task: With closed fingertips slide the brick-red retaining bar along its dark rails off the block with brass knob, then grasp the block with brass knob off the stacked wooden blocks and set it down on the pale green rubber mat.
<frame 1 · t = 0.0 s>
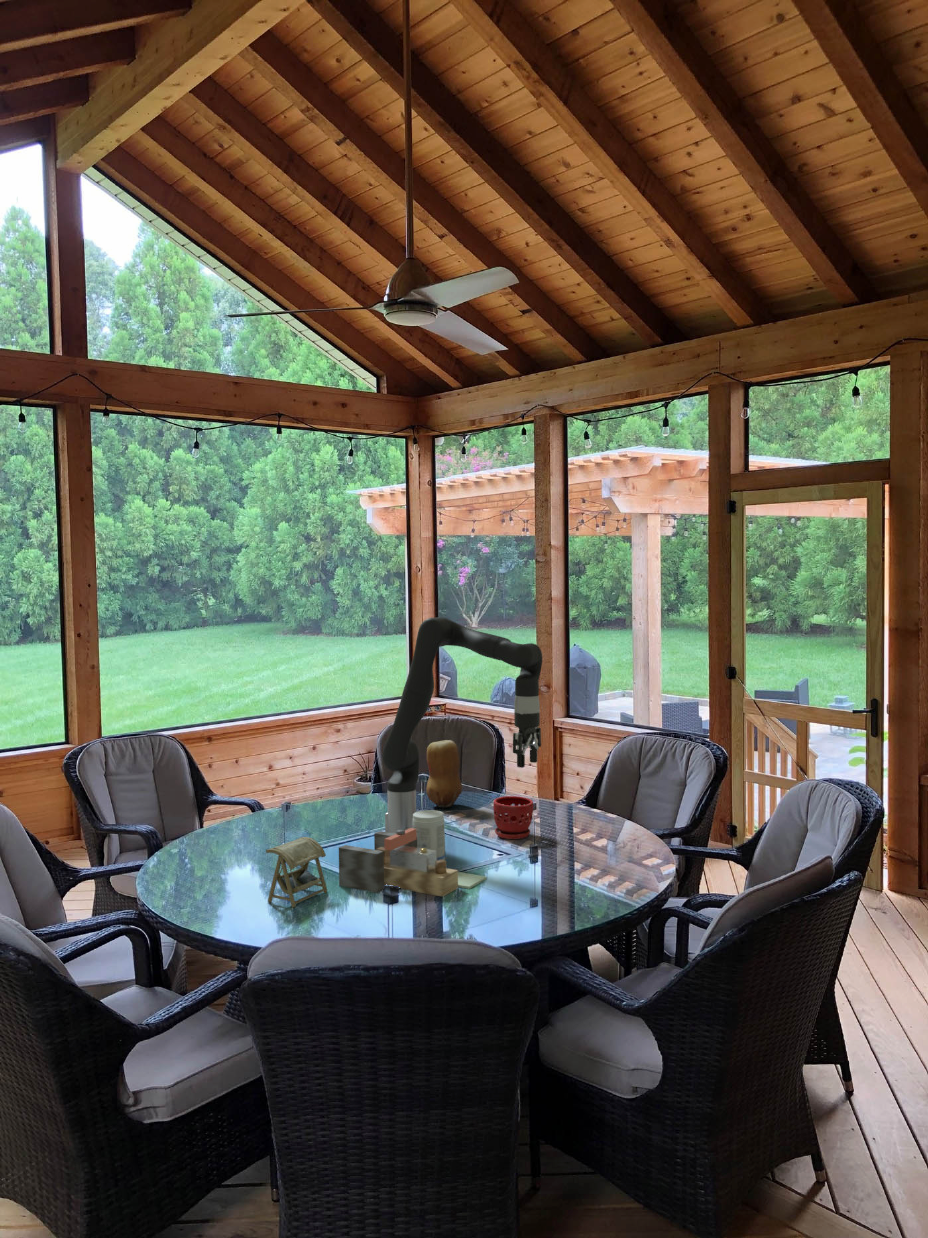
hand: (527, 764, 286), 29 cm above the table, fingers open, 8 cm apart
butternut squash: (444, 807, 357), on the table
supplement tub: (429, 862, 288), on the table
plant pot: (513, 836, 316), on the table
latch bar: (400, 837, 267), point 13 cm above the table, slide at 0.0 cm
block with brass knob: (413, 867, 265), point 5 cm above the table, touching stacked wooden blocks
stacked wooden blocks: (413, 885, 266), on the table
mat: (462, 881, 269), on the table
swing bench: (297, 898, 257), on the table
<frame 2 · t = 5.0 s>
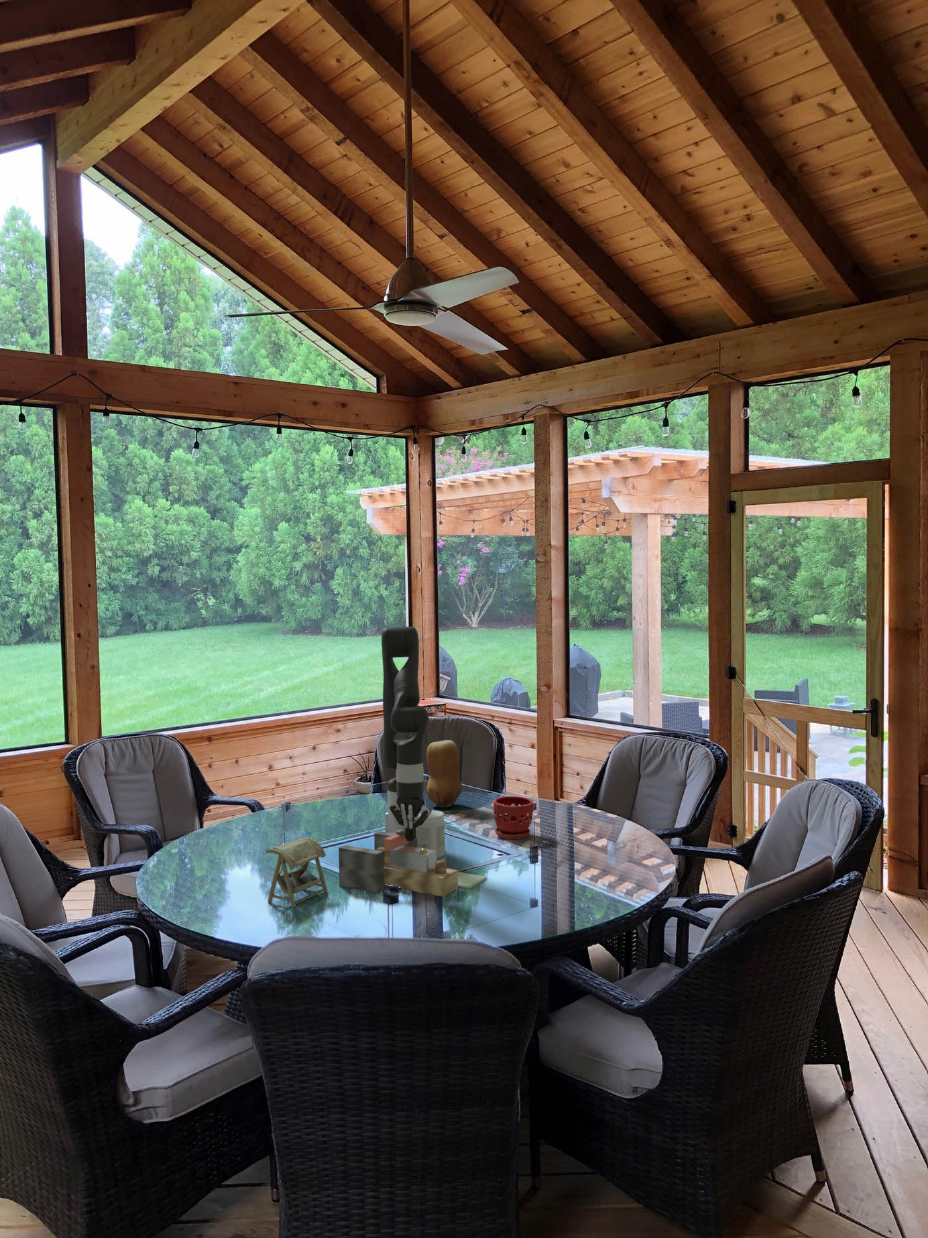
hand: (410, 840, 266), 12 cm above the table, fingers closed
latch bar: (400, 837, 267), point 13 cm above the table, slide at 0.1 cm, touching gripper
everything else where it was.
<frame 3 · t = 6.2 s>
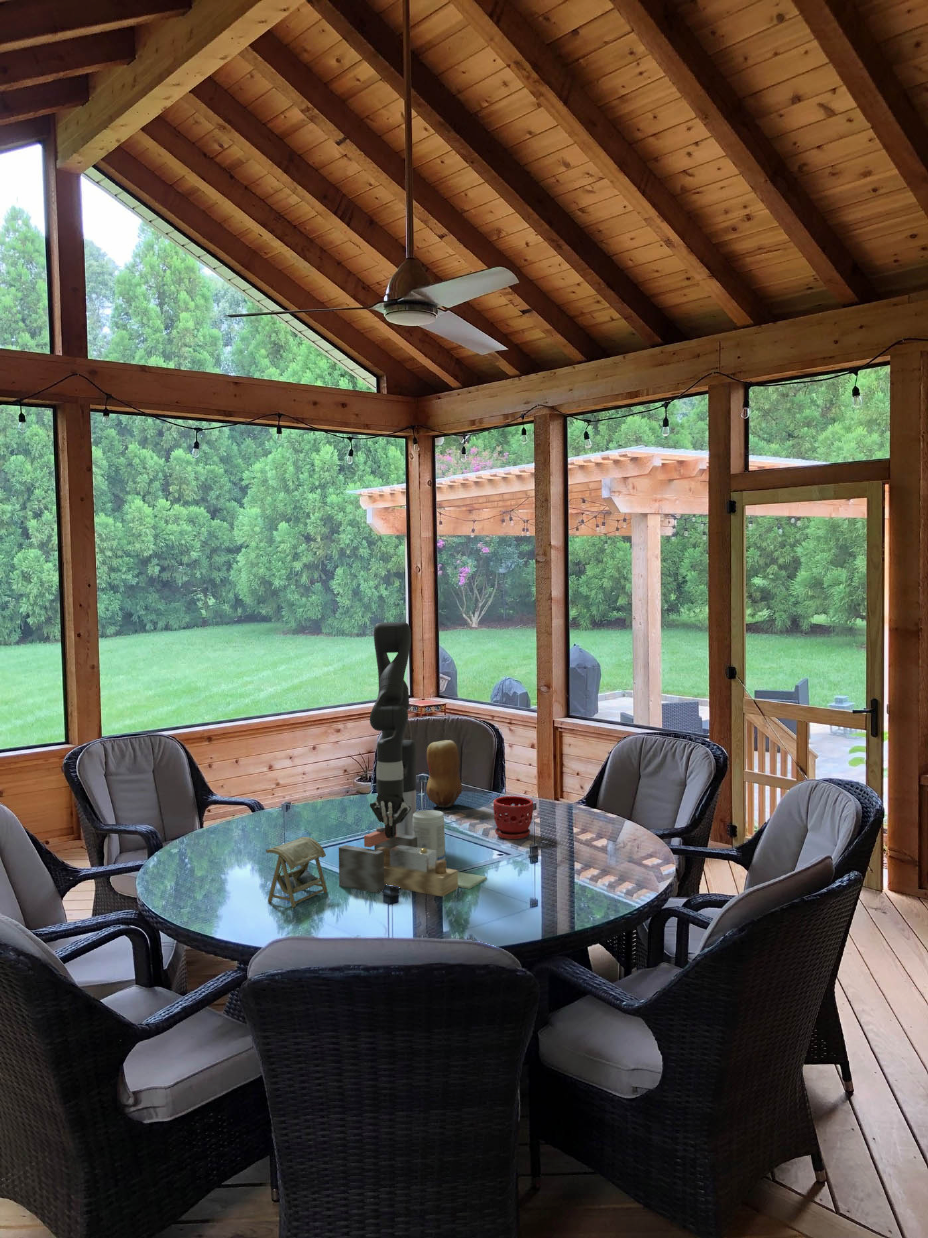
hand: (390, 837, 269), 12 cm above the table, fingers closed
latch bar: (380, 834, 270), point 13 cm above the table, slide at 6.8 cm, touching gripper
everything else where it was.
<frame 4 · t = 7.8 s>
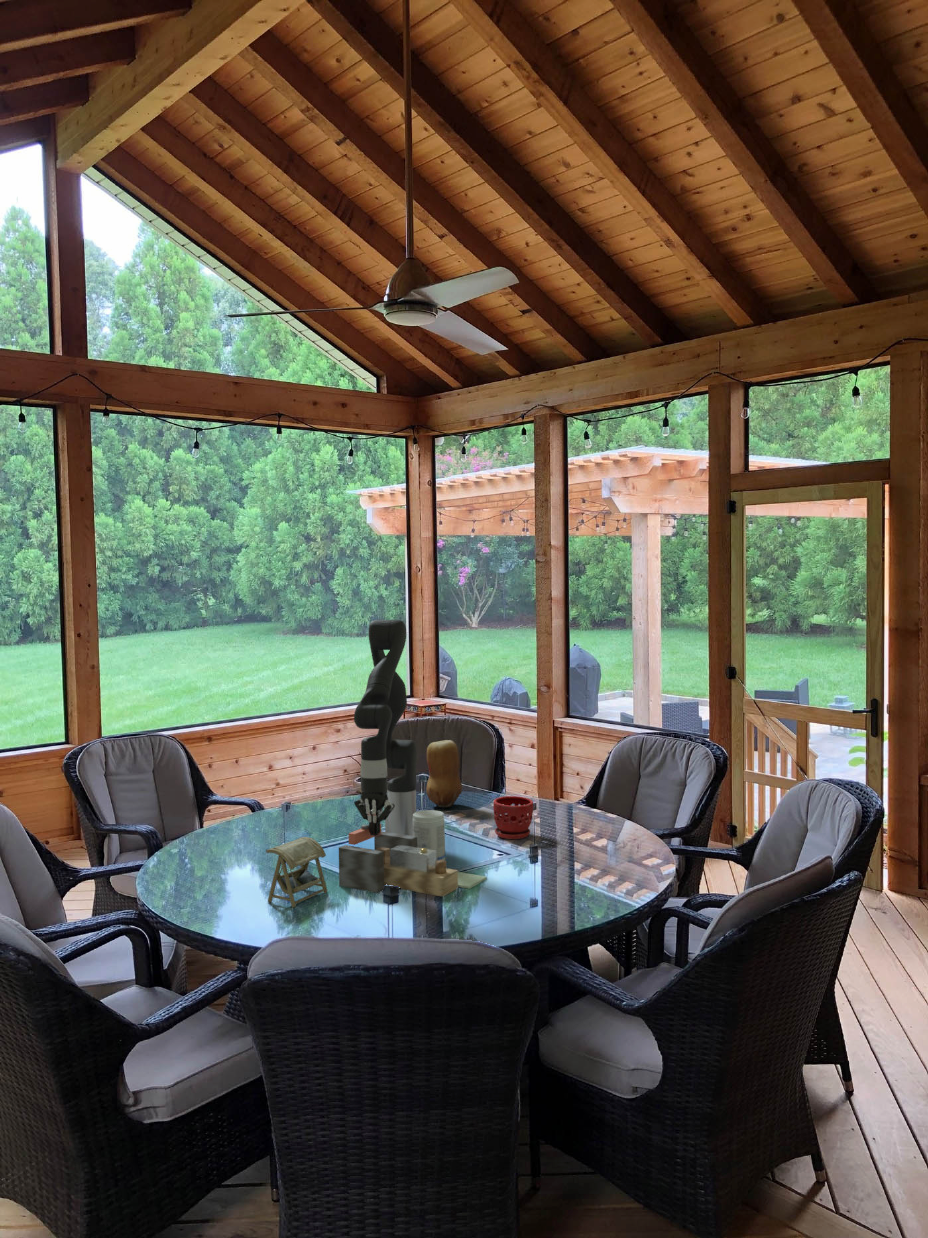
hand: (374, 835, 272), 12 cm above the table, fingers closed
latch bar: (365, 832, 273), point 13 cm above the table, slide at 12.1 cm, touching gripper
everything else where it was.
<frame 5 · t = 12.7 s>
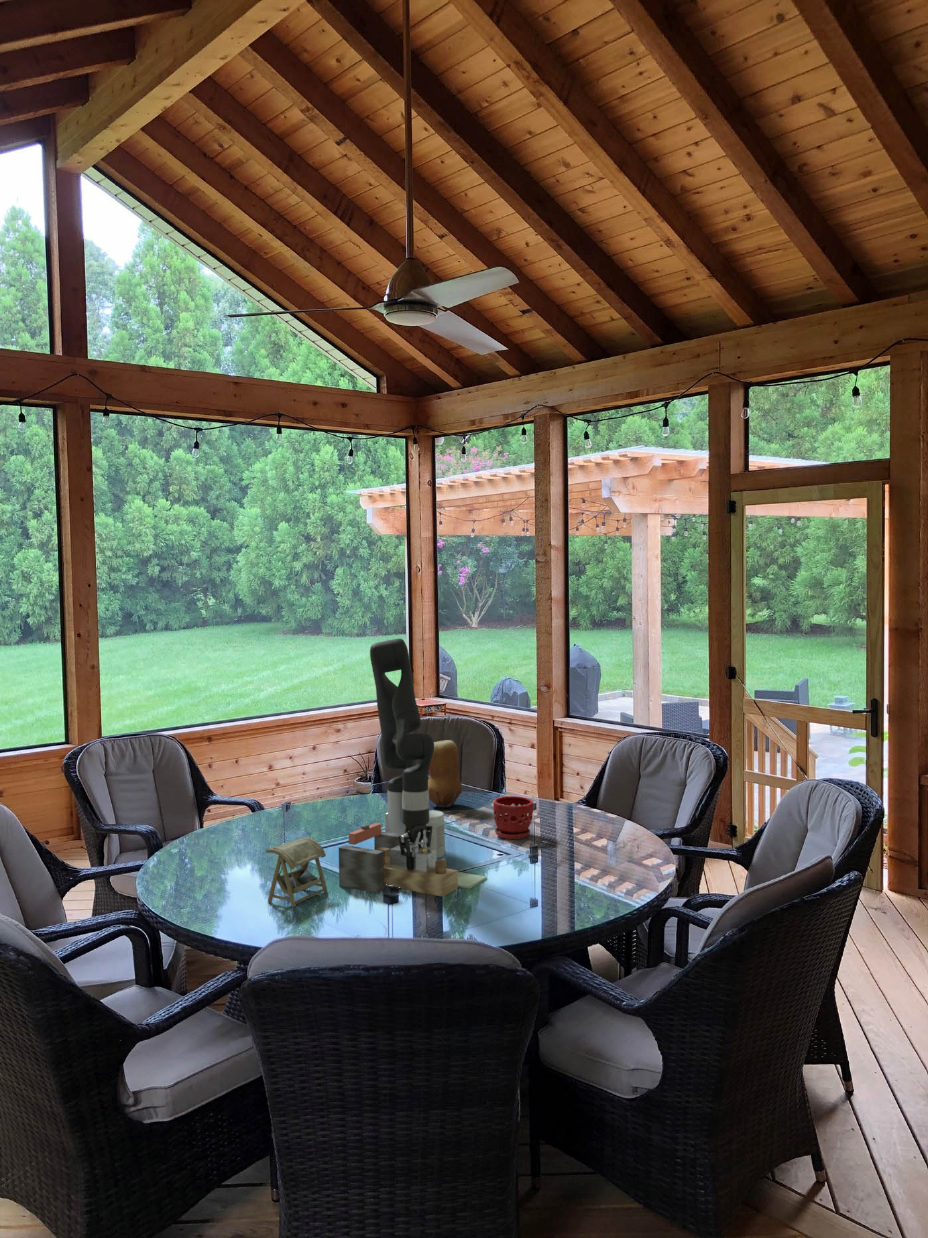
hand: (416, 866, 265), 5 cm above the table, fingers closed on block with brass knob, 5 cm apart
latch bar: (365, 832, 273), point 13 cm above the table, slide at 12.1 cm
block with brass knob: (413, 867, 265), point 5 cm above the table, touching gripper, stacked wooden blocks
everything else where it was.
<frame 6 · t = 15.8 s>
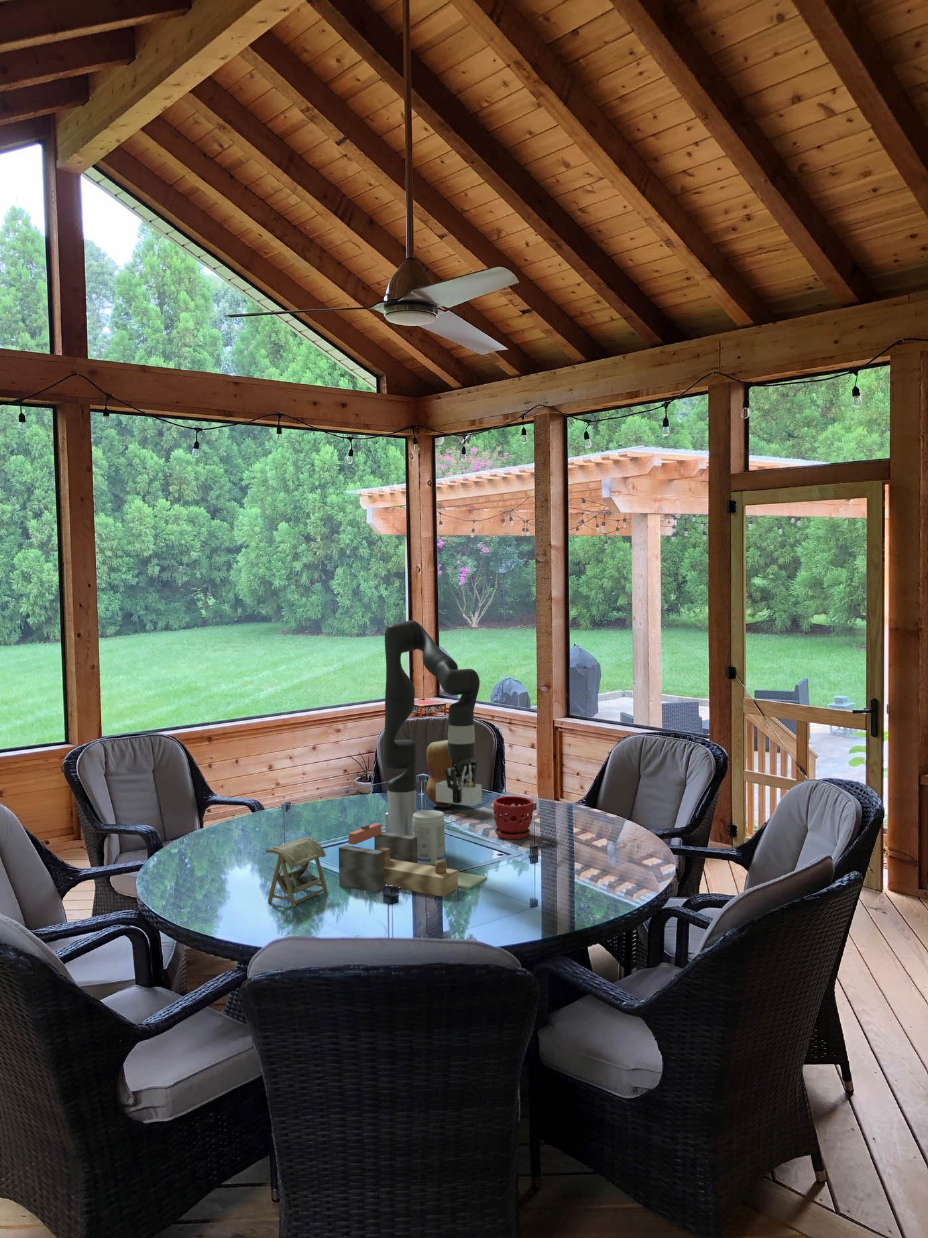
hand: (461, 800, 268), 23 cm above the table, fingers closed on block with brass knob, 5 cm apart
block with brass knob: (458, 801, 269), point 22 cm above the table, touching gripper
everything else where it was.
when the fingers open (3 cm above the table, at t = 19.2 s): block with brass knob drops 2 cm, resting on mat.
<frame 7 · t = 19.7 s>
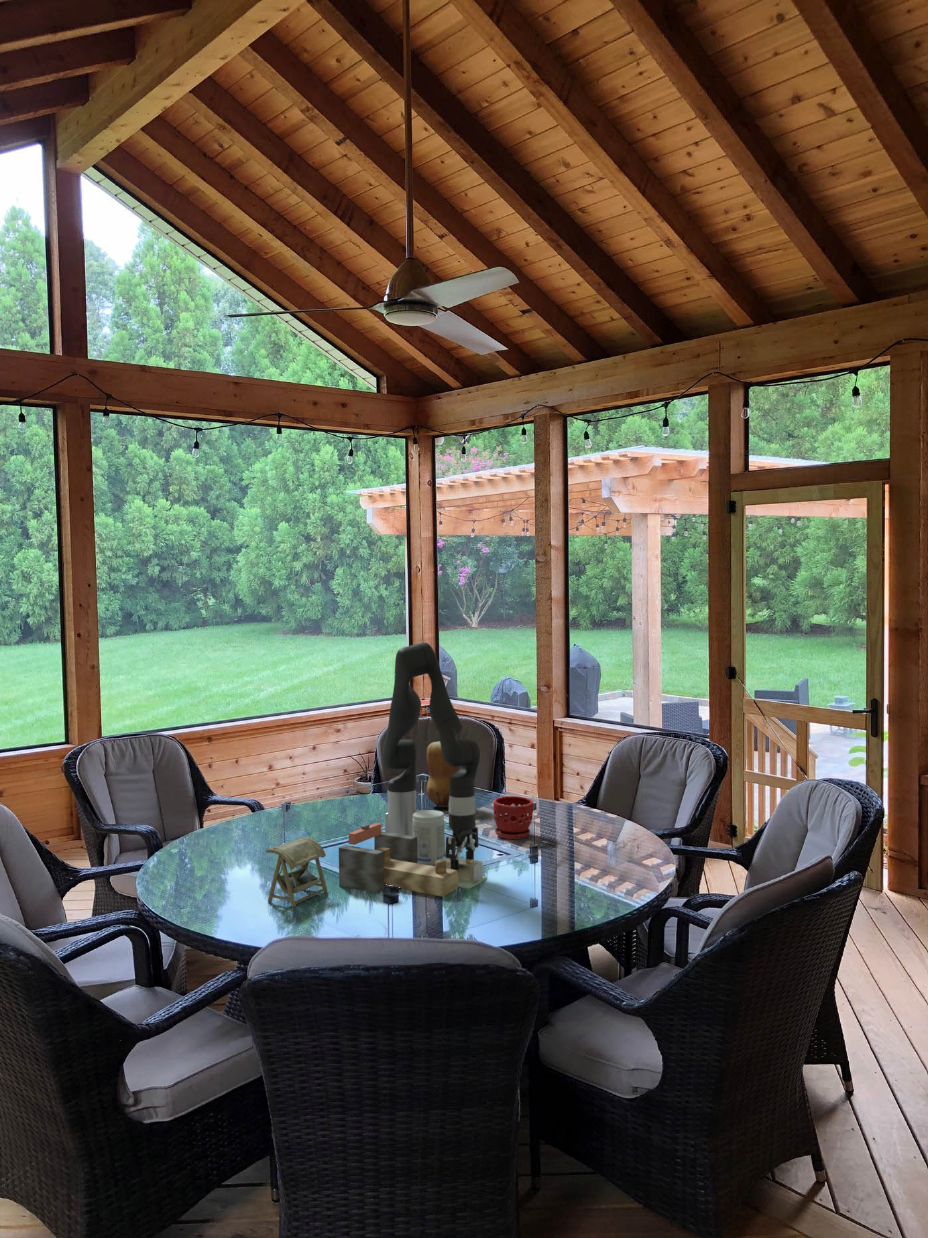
hand: (462, 868, 269), 4 cm above the table, fingers open, 8 cm apart
block with brass knob: (459, 878, 270), point 1 cm above the table, touching mat
everything else where it was.
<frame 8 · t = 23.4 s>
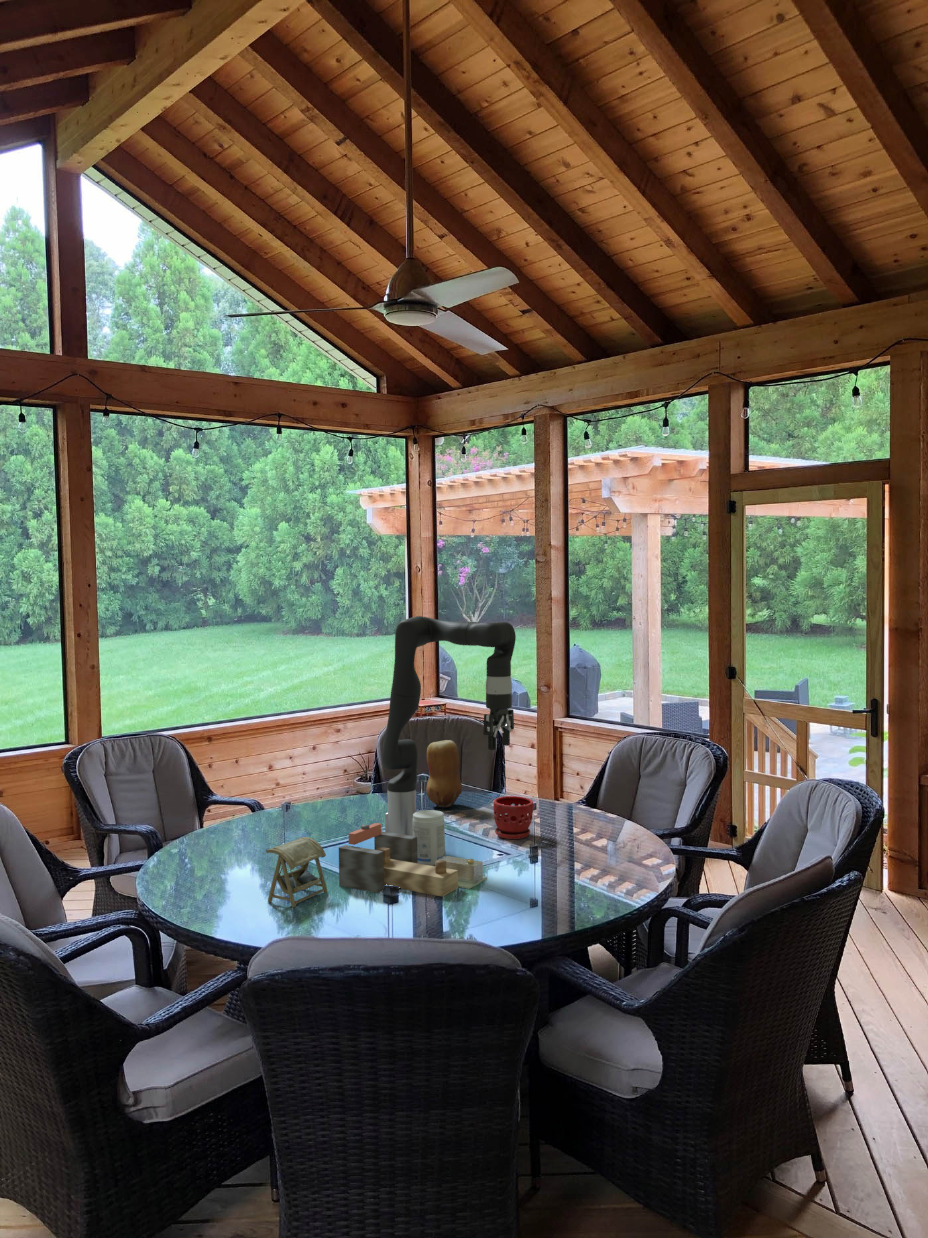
hand: (499, 747, 276), 36 cm above the table, fingers open, 8 cm apart
nothing on the table moved.
at the end: latch bar slide at 12.1 cm; block with brass knob inside the target area on the mat (0.9 cm from its centre), point 0.6 cm above the mat's base; block with brass knob tilted 0° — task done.
